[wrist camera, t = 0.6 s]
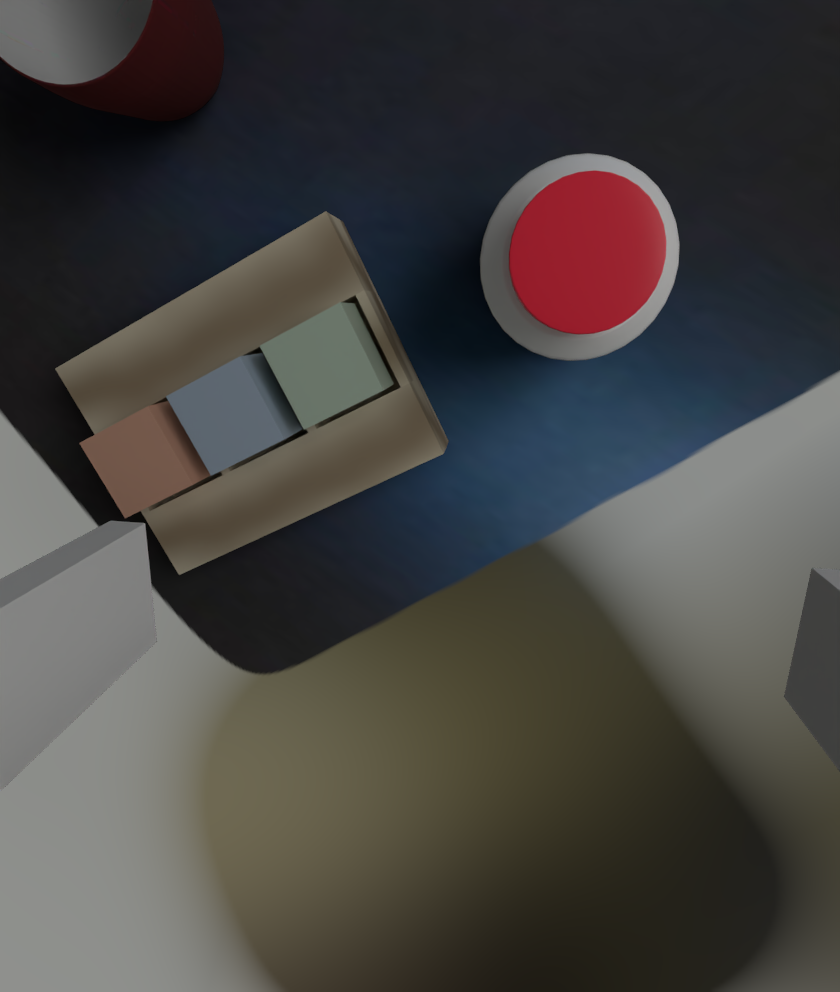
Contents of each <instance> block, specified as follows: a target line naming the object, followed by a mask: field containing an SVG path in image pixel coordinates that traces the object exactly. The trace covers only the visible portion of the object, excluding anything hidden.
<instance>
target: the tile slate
mask: <svg viewBox="0 0 840 992" xmlns="http://www.w3.org/2000/svg"><path fill="white" fill-rule="evenodd" d="M166 398H167V399H168V401H169V403H170V405H171V406H172V408H173V410H174V412H175V413H176V415H177V417H178V419H179V420H180V422H181V424H182V426H183V427H184V429H185V431H186V433H187V434H188V436H189V438H190V440H191V442H192V443H193V445H194V447H195V449H196V450H197V452H198V454H199V456H200V457H201V459H202V461H203V463H204V464H205V466H206V468H207V470H208V471H209V473H210V475H211V476H212V475H214V474H216V473H218V472H220V471H222V470H224V469H226V468H228V467H230V466H232V465H234V464H236V463H238V462H240V461H242V460H244V459H246V458H248V457H250V456H252V455H254V454H256V453H258V452H260V451H262V450H264V449H266V448H268V447H270V446H272V445H274V444H276V443H278V442H280V441H282V440H284V439H286V438H288V437H290V436H292V435H293V434H295V433H297V432H299V431H300V430H302V429H303V428H302V426H301V424H300V422H299V420H298V418H297V417H296V415H295V413H294V411H293V409H292V407H291V405H290V403H289V401H288V400H287V398H286V396H285V394H284V392H283V390H282V388H281V386H280V384H279V383H278V381H277V379H276V377H275V375H274V373H273V371H272V369H271V367H270V366H269V364H268V362H267V360H266V358H265V356H264V354H263V353H259V354H252V355H245V356H240V357H238V358H236V359H234V360H232V361H230V362H229V363H227V364H225V365H223V366H221V367H219V368H217V369H216V370H214V371H212V372H210V373H208V374H206V375H205V376H203V377H201V378H199V379H197V380H195V381H193V382H192V383H190V384H188V385H186V386H184V387H182V388H180V389H179V390H177V391H175V392H173V393H171V394H169V395H168V396H166Z"/></svg>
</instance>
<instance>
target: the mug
mask: <svg viewBox="0 0 840 992" xmlns="http://www.w3.org/2000/svg"><path fill="white" fill-rule="evenodd" d="M0 59H1V60H2V61H3V62H4V63H5V64H7V65H8V66H9V67H10V68H12V69H13V70H15V71H16V72H17V73H19V74H20V75H22V76H24V77H26V78H28V79H29V80H31V81H33V82H35V83H36V84H38V85H40V86H42V87H44V88H45V89H47V90H49V91H51V92H53V93H55V94H57V95H59V96H61V97H63V98H65V99H68V100H70V101H72V102H75V103H77V104H80V105H83V106H86V107H89V108H93V109H97V110H101V111H106V112H111V113H116V114H121V115H126V116H131V117H136V118H140V119H145V120H151V121H173V120H178V119H182V118H184V117H187V116H189V115H191V114H193V113H195V112H196V111H198V110H199V109H201V108H202V107H203V106H204V105H205V104H206V103H207V102H208V101H209V100H210V99H211V98H212V96H213V95H214V93H215V92H216V90H217V88H218V85H219V82H220V79H221V75H222V70H223V62H224V44H223V36H222V30H221V26H220V22H219V19H218V16H217V13H216V11H215V8H214V6H213V3H212V1H211V0H0Z"/></svg>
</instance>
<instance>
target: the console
mask: <svg viewBox="0 0 840 992" xmlns="http://www.w3.org/2000/svg"><path fill="white" fill-rule="evenodd" d="M340 302H343V303H354V304H355V305H356V307H357V309H358V311H359V313H360V316H361V318H362V320H363V322H364V324H365V326H366V328H367V330H368V332H369V334H370V336H371V338H372V340H373V342H374V344H375V346H376V348H377V350H378V352H379V354H380V356H381V358H382V360H383V362H384V364H385V366H386V368H387V371H388V373H389V375H390V377H391V379H392V381H393V383H394V384H393V385H391V386H390V387H388V388H387V389H385V390H383V391H381V392H379V393H377V394H375V395H373V396H371V397H369V398H367V399H365V400H363V401H361V402H359V403H357V404H355V405H353V406H351V407H349V408H347V409H345V410H343V411H341V412H339V413H337V414H335V415H333V416H331V417H329V418H327V419H325V420H323V421H321V422H319V423H317V424H315V425H313V426H311V427H309V428H307V429H305V430H304V429H302V430H300V431H299V432H297V433H295V434H293V435H292V436H290V437H288V438H286V439H284V440H282V441H280V442H278V443H276V444H274V445H272V446H270V447H268V448H266V449H264V450H262V451H260V452H258V453H256V454H254V455H252V456H250V457H248V458H246V459H244V460H242V461H240V462H238V463H236V464H234V465H232V466H230V467H228V468H226V469H224V470H222V471H220V472H218V473H216V474H214V475H212V476H211V475H210V476H208V477H206V478H205V479H203V480H201V481H199V482H197V483H195V484H194V485H192V486H190V487H188V488H186V489H184V490H181V491H179V492H177V493H175V494H173V495H171V496H169V497H167V498H165V499H163V500H161V501H159V502H157V503H155V504H153V505H151V506H149V507H147V508H145V509H143V510H141V512H142V514H143V516H144V517H145V519H146V521H147V522H148V524H149V526H150V527H151V529H152V531H153V532H154V534H155V536H156V537H157V539H158V541H159V542H160V544H161V546H162V547H163V549H164V551H165V552H166V554H167V556H168V557H169V559H170V561H171V562H172V564H173V566H174V567H175V569H176V571H177V572H178V574H179V575H180V574H182V573H184V572H187V571H189V570H191V569H193V568H195V567H198V566H200V565H202V564H204V563H206V562H208V561H211V560H213V559H215V558H217V557H219V556H222V555H224V554H226V553H228V552H230V551H232V550H235V549H237V548H239V547H241V546H243V545H246V544H248V543H250V542H252V541H254V540H256V539H259V538H261V537H263V536H265V535H267V534H270V533H272V532H274V531H276V530H278V529H280V528H283V527H285V526H287V525H289V524H291V523H294V522H296V521H298V520H300V519H302V518H304V517H307V516H309V515H311V514H313V513H315V512H318V511H320V510H322V509H324V508H326V507H328V506H331V505H333V504H335V503H337V502H339V501H342V500H344V499H346V498H348V497H350V496H352V495H355V494H357V493H359V492H361V491H363V490H365V489H368V488H370V487H372V486H374V485H376V484H379V483H381V482H383V481H385V480H387V479H389V478H392V477H394V476H396V475H398V474H400V473H403V472H405V471H407V470H409V469H411V468H413V467H416V466H418V465H420V464H422V463H424V462H427V461H429V460H431V459H433V458H435V457H437V456H440V455H442V454H444V452H445V449H446V447H447V444H448V442H449V441H448V439H447V437H446V435H445V433H444V431H443V428H442V426H441V424H440V422H439V420H438V418H437V416H436V414H435V412H434V410H433V408H432V406H431V404H430V401H429V399H428V397H427V395H426V393H425V391H424V389H423V387H422V385H421V383H420V381H419V379H418V377H417V375H416V372H415V370H414V368H413V366H412V364H411V362H410V360H409V358H408V356H407V354H406V352H405V350H404V348H403V345H402V343H401V341H400V339H399V337H398V335H397V333H396V331H395V329H394V327H393V325H392V323H391V321H390V319H389V316H388V314H387V312H386V310H385V308H384V306H383V304H382V302H381V300H380V298H379V296H378V294H377V292H376V289H375V287H374V285H373V283H372V281H371V279H370V277H369V275H368V273H367V271H366V269H365V267H364V265H363V263H362V260H361V258H360V256H359V254H358V252H357V250H356V248H355V246H354V244H353V242H352V240H351V238H350V236H349V233H348V231H347V229H346V227H345V225H344V223H343V221H341V220H339V219H338V218H336V217H334V216H333V215H331V214H329V213H328V212H324V213H322V214H321V215H319V216H317V217H315V218H314V219H312V220H310V221H308V222H307V223H305V224H303V225H302V226H300V227H298V228H296V229H295V230H293V231H291V232H290V233H288V234H286V235H284V236H283V237H281V238H279V239H277V240H276V241H274V242H272V243H271V244H269V245H267V246H265V247H264V248H262V249H260V250H259V251H257V252H255V253H253V254H252V255H250V256H248V257H247V258H245V259H243V260H241V261H240V262H238V263H236V264H234V265H233V266H231V267H229V268H228V269H226V270H224V271H222V272H221V273H219V274H217V275H216V276H214V277H212V278H210V279H209V280H207V281H205V282H203V283H202V284H200V285H198V286H197V287H195V288H193V289H191V290H190V291H188V292H186V293H185V294H183V295H181V296H179V297H178V298H176V299H174V300H172V301H171V302H169V303H167V304H166V305H164V306H162V307H160V308H159V309H157V310H155V311H154V312H152V313H150V314H148V315H147V316H145V317H143V318H142V319H140V320H138V321H136V322H135V323H133V324H131V325H129V326H128V327H126V328H124V329H123V330H121V331H119V332H117V333H116V334H114V335H112V336H111V337H109V338H107V339H105V340H104V341H102V342H100V343H98V344H97V345H95V346H93V347H92V348H90V349H88V350H86V351H85V352H83V353H81V354H80V355H78V356H76V357H74V358H73V359H71V360H69V361H68V362H66V363H64V364H62V365H61V366H59V367H57V368H55V369H56V371H57V373H58V374H59V376H60V378H61V379H62V381H63V383H64V384H65V386H66V388H67V389H68V391H69V393H70V394H71V396H72V398H73V399H74V401H75V403H76V404H77V406H78V408H79V409H80V411H81V413H82V414H83V416H84V418H85V419H86V421H87V423H88V424H89V426H90V428H91V429H92V431H93V433H94V434H97V433H99V432H101V431H103V430H105V429H106V428H108V427H110V426H112V425H114V424H116V423H118V422H119V421H121V420H123V419H125V418H127V417H129V416H130V415H132V414H134V413H136V412H138V411H140V410H142V409H143V408H145V407H147V406H150V405H154V404H158V403H162V402H166V401H168V399H167V398H166V396H168V395H169V394H171V393H173V392H175V391H177V390H179V389H180V388H182V387H184V386H186V385H188V384H190V383H192V382H193V381H195V380H197V379H199V378H201V377H203V376H205V375H206V374H208V373H210V372H212V371H214V370H216V369H217V368H219V367H221V366H223V365H225V364H227V363H229V362H230V361H232V360H234V359H236V358H238V357H240V356H245V355H252V354H259V353H263V352H262V350H261V348H260V345H262V344H264V343H266V342H267V341H269V340H271V339H273V338H275V337H277V336H279V335H280V334H282V333H284V332H286V331H288V330H290V329H292V328H293V327H295V326H297V325H299V324H301V323H303V322H304V321H306V320H308V319H310V318H312V317H314V316H316V315H317V314H319V313H321V312H323V311H325V310H327V309H329V308H330V307H332V306H334V305H336V304H338V303H340ZM263 354H264V353H263ZM264 356H265V355H264ZM265 358H266V357H265ZM266 360H267V359H266ZM267 362H268V361H267ZM268 364H269V363H268ZM269 366H270V365H269ZM272 371H273V370H272ZM273 373H274V372H273ZM274 375H275V374H274ZM275 377H276V376H275ZM276 379H277V378H276ZM277 381H278V380H277ZM278 383H279V382H278ZM281 388H282V387H281ZM282 390H283V389H282ZM283 392H284V391H283ZM284 394H285V393H284ZM285 396H286V395H285ZM286 398H287V397H286ZM287 400H288V399H287ZM290 405H291V404H290ZM291 407H292V406H291ZM292 409H293V408H292ZM293 411H294V410H293ZM294 413H295V412H294ZM295 415H296V414H295ZM296 417H297V416H296ZM299 422H300V421H299ZM300 424H301V423H300ZM301 426H302V425H301ZM302 428H303V427H302Z"/></svg>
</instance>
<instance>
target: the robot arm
mask: <svg viewBox="0 0 840 992" xmlns="http://www.w3.org/2000/svg"><path fill="white" fill-rule="evenodd" d="M156 642H157V638H156V628H155V619H154V608H153V598H152V587H151V577H150V567H149V557H148V547H147V537H146V527H145V523H136V522H121V521H109V522H107V523H105V524H104V525H102V526H100V527H98V528H96V529H94V530H92V531H90V532H89V533H87V534H85V535H83V536H81V537H79V538H77V539H75V540H74V541H72V542H70V543H68V544H66V545H64V546H62V547H60V548H59V549H56V550H55V551H53V552H51V553H49V554H47V555H45V556H43V557H41V558H40V559H38V560H36V561H34V562H32V563H30V564H29V565H26V566H24V567H23V568H21V569H19V570H17V571H15V572H13V573H11V574H9V575H8V576H6V577H4V578H2V579H0V791H1V790H2V789H3V788H4V787H5V786H6V785H7V784H8V783H9V782H11V781H12V780H13V779H14V778H15V777H16V776H17V775H18V774H19V773H20V772H21V771H22V770H23V769H24V768H25V767H26V766H27V765H28V764H29V763H30V762H31V761H32V760H34V759H35V758H36V757H37V756H38V755H39V754H40V753H41V752H42V751H43V750H44V749H45V748H46V747H47V746H48V745H49V744H50V743H51V742H52V741H53V740H54V739H55V738H57V737H58V735H60V734H61V733H62V732H63V731H64V730H65V729H66V728H67V727H68V726H69V725H70V724H71V723H72V722H73V721H74V720H75V719H76V718H77V717H79V716H80V715H81V714H82V712H84V711H85V710H86V709H87V708H88V707H89V706H90V705H91V704H92V703H93V702H94V701H95V700H96V699H97V698H98V697H99V696H100V695H102V694H103V692H105V691H106V690H107V689H108V688H109V687H110V686H111V685H112V684H113V683H114V682H115V681H116V680H117V679H118V678H119V677H120V676H121V675H122V674H124V673H125V672H126V671H127V670H128V669H129V668H130V667H131V666H132V665H133V664H134V663H135V662H136V661H137V660H138V659H139V658H140V657H141V656H142V655H143V654H144V653H145V652H146V651H148V650H149V649H150V648H151V647H152V646H153V645H154V644H155V643H156ZM784 697H785V699H786V700H787V701H788V702H789V704H790V705H791V707H792V708H793V710H794V711H795V712H796V714H797V715H798V716H799V718H800V719H801V720H802V722H803V723H804V724H805V726H806V727H807V728H808V730H809V731H810V732H811V734H812V735H813V736H814V738H815V739H816V740H817V742H818V743H819V744H820V746H821V747H822V748H823V750H824V751H825V752H826V754H827V755H828V756H829V758H830V759H831V760H832V762H833V763H834V764H835V766H836V767H837V768H838V770H839V771H840V570H836V569H822V568H812V569H811V574H810V578H809V583H808V588H807V592H806V597H805V602H804V607H803V611H802V616H801V621H800V625H799V630H798V634H797V639H796V644H795V648H794V653H793V658H792V662H791V667H790V672H789V676H788V681H787V686H786V690H785V695H784Z"/></svg>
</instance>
